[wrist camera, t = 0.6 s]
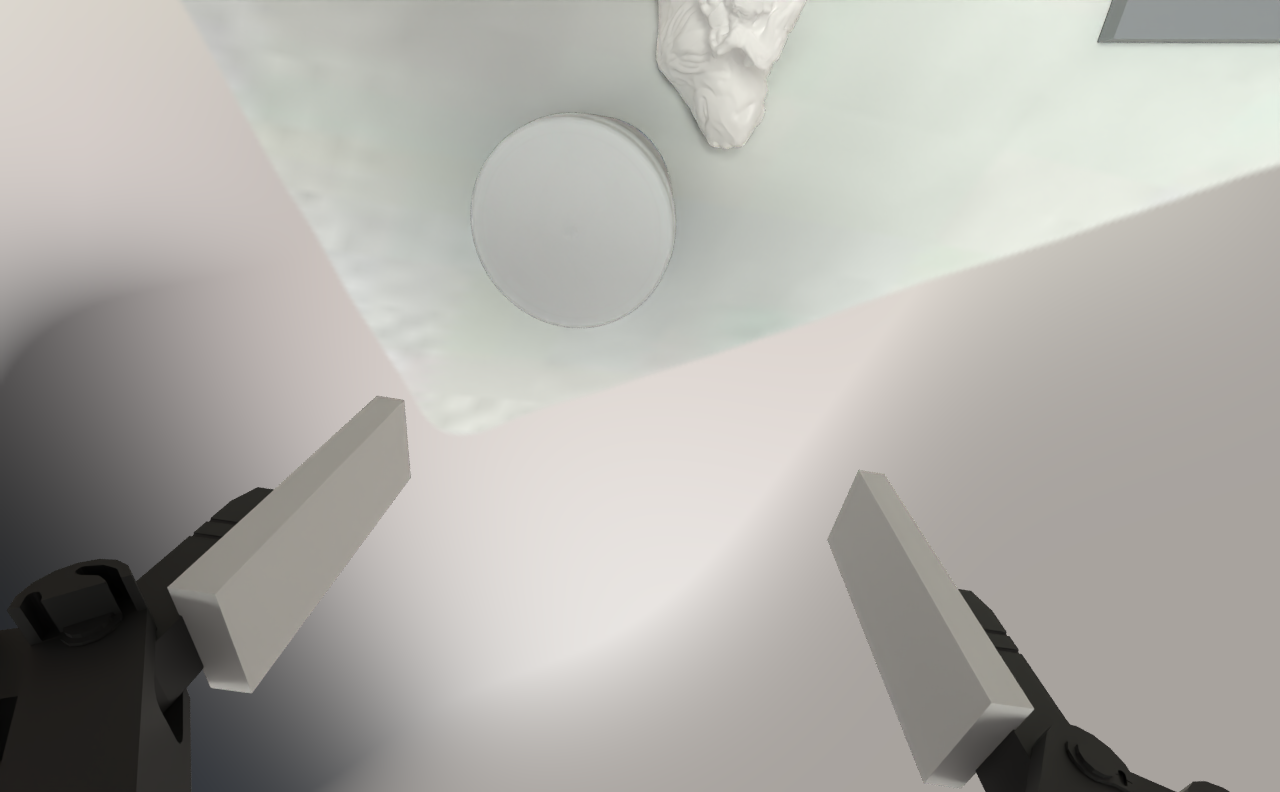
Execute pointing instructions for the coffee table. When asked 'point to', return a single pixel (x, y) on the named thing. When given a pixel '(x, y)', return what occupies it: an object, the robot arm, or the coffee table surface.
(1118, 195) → the coffee table surface
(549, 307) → the supplement tub
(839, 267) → the coffee table surface
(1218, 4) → the post block
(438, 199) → the coffee table surface
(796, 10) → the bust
